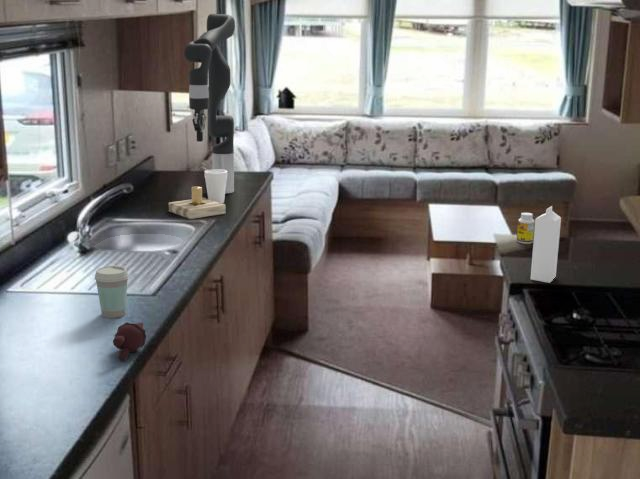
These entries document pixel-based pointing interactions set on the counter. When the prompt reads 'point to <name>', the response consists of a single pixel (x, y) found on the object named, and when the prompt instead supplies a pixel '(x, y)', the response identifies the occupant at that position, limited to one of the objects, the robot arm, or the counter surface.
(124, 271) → the coffee cup
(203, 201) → the plate
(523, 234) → the supplement bottle
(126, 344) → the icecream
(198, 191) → the brass cylinder
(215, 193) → the foam cup
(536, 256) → the milk
